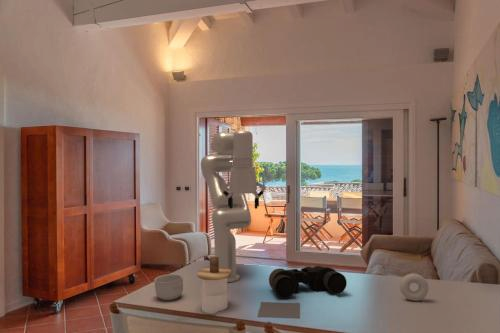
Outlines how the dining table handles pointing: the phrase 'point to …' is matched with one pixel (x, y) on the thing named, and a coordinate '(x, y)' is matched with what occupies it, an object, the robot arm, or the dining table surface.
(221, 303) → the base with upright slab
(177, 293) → the teacup
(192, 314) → the dining table surface
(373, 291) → the dining table surface
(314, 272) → the binoculars
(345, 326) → the dining table surface
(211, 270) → the oak lid
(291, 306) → the rubber mat
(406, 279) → the donut
